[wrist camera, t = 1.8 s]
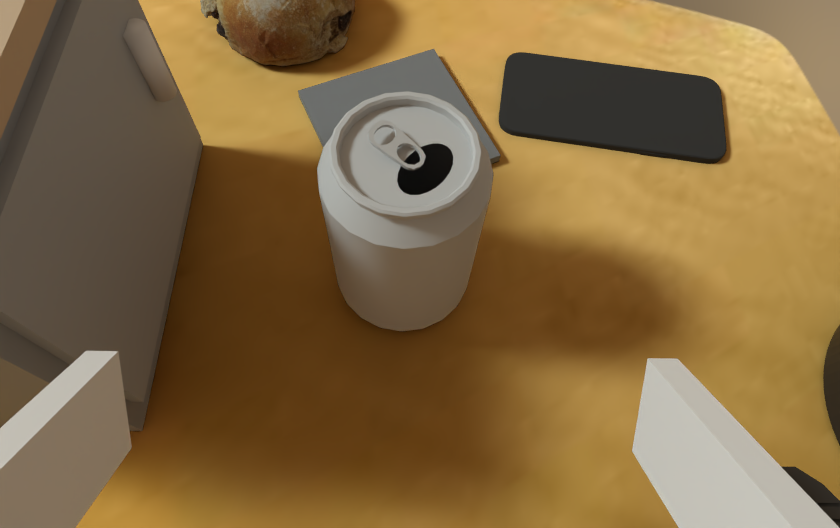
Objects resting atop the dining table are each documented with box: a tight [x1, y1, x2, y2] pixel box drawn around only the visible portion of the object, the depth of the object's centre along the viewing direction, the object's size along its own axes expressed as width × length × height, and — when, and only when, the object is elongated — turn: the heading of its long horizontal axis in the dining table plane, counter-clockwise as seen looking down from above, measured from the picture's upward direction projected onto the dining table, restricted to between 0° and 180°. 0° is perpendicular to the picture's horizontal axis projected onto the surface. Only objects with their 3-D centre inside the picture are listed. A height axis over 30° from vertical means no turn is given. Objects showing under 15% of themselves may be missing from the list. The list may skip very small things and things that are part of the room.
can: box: [317, 91, 493, 331], centre depth 29 cm, size 8×8×12 cm
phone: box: [499, 53, 726, 164], centre depth 41 cm, size 7×1×15 cm
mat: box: [298, 49, 501, 164], centre depth 39 cm, size 10×10×1 cm
